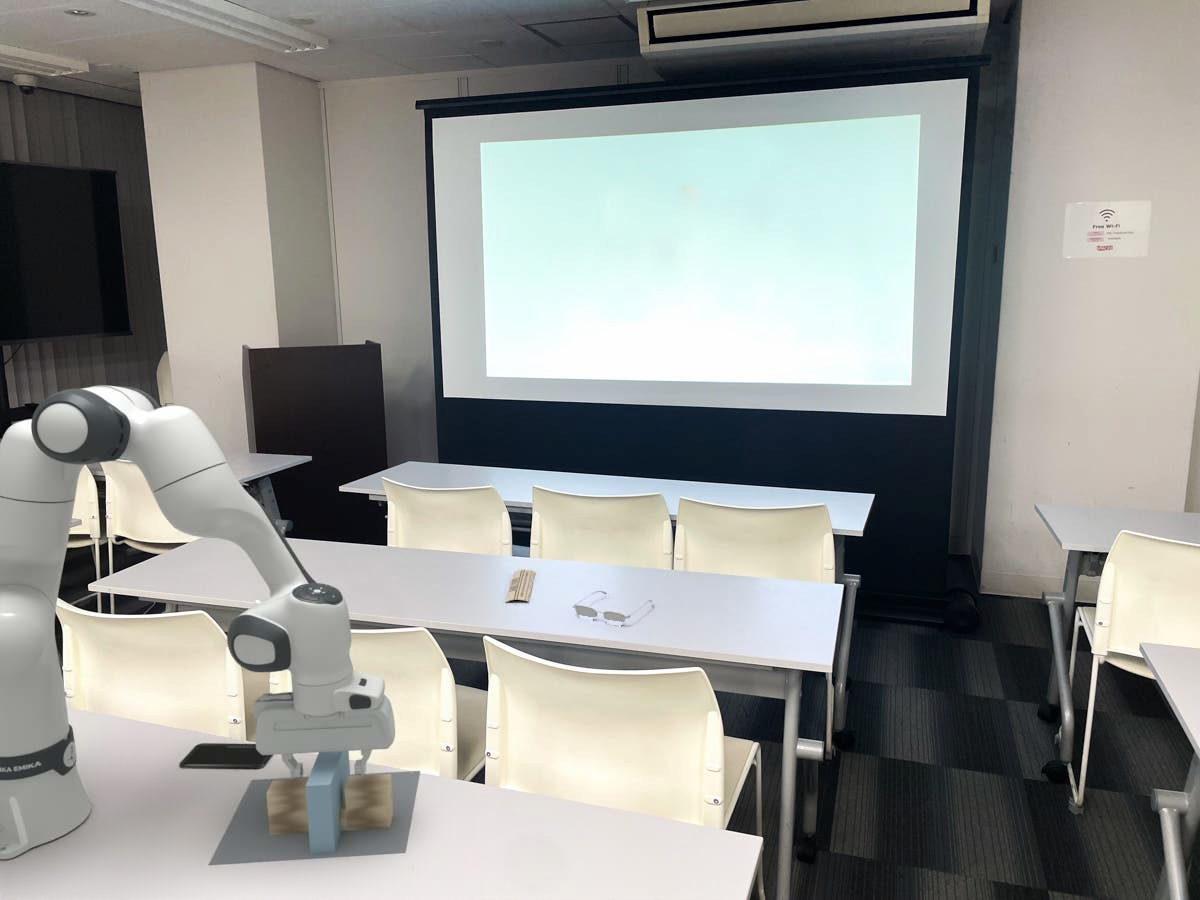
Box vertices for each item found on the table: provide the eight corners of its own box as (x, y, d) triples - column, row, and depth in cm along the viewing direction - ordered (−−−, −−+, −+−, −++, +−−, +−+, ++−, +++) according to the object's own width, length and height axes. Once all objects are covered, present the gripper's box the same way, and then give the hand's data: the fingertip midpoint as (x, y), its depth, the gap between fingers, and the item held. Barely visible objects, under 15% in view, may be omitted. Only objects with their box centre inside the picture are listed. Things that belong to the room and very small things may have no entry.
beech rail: (269, 835, 135) (266, 793, 133) (275, 821, 138) (272, 780, 137) (390, 827, 137) (388, 786, 135) (393, 814, 140) (391, 774, 139)
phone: (262, 767, 153) (176, 766, 153) (262, 773, 153) (177, 772, 153) (280, 743, 160) (198, 742, 161) (280, 749, 161) (198, 748, 161)
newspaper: (528, 605, 230) (528, 599, 230) (501, 605, 230) (501, 599, 230) (535, 575, 254) (535, 569, 253) (510, 575, 254) (510, 569, 253)
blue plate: (310, 853, 131) (305, 785, 128) (329, 798, 144) (325, 736, 142) (334, 852, 131) (330, 784, 129) (351, 797, 144) (347, 735, 142)
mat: (208, 867, 128) (208, 865, 128) (251, 782, 150) (251, 779, 149) (405, 855, 131) (405, 852, 131) (420, 772, 152) (420, 770, 152)
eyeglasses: (572, 619, 221) (572, 603, 220) (605, 596, 237) (605, 582, 236) (627, 630, 214) (627, 614, 213) (658, 606, 230) (658, 591, 229)
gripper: (245, 704, 129) (253, 790, 132) (389, 697, 131) (393, 782, 134) (257, 684, 135) (264, 767, 138) (394, 678, 137) (398, 760, 140)
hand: (329, 774), depth 136 cm, fingers open, 8 cm apart
